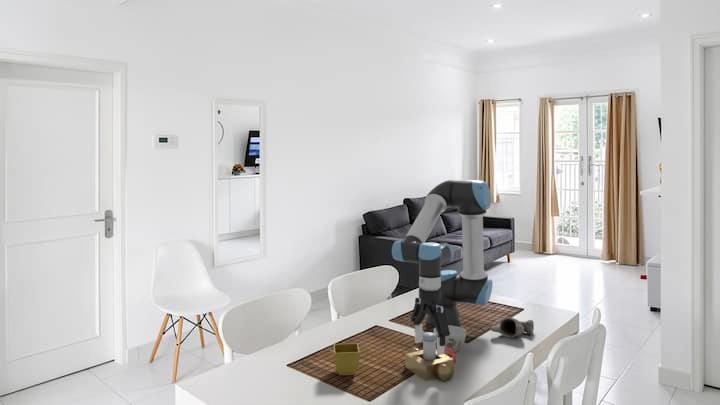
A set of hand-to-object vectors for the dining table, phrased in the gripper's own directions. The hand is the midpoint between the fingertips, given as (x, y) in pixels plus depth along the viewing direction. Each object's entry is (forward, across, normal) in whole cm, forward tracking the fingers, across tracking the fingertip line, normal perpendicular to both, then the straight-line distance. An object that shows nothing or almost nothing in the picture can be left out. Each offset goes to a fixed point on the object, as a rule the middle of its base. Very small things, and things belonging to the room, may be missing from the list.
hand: (429, 348), depth 180 cm
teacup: (+8, -11, +17) cm, 22 cm away
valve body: (+8, 0, +2) cm, 8 cm away
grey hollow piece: (+8, -10, +51) cm, 53 cm away
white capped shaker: (+7, 0, 0) cm, 7 cm away
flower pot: (+8, -13, -26) cm, 30 cm away
